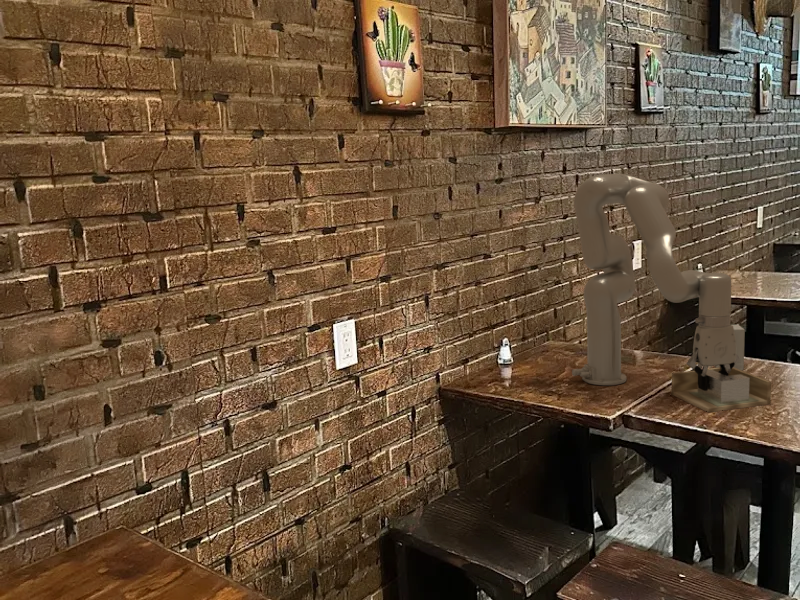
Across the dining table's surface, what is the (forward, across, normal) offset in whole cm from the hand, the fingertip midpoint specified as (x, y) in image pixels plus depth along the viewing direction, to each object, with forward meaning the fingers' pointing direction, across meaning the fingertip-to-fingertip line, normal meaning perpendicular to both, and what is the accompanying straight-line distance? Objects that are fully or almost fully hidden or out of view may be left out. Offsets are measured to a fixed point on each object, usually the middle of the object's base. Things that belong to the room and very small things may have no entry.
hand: (712, 387), depth 188 cm
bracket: (+2, +2, -1) cm, 3 cm away
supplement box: (+4, +23, +25) cm, 34 cm away
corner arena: (+3, +2, 0) cm, 4 cm away
